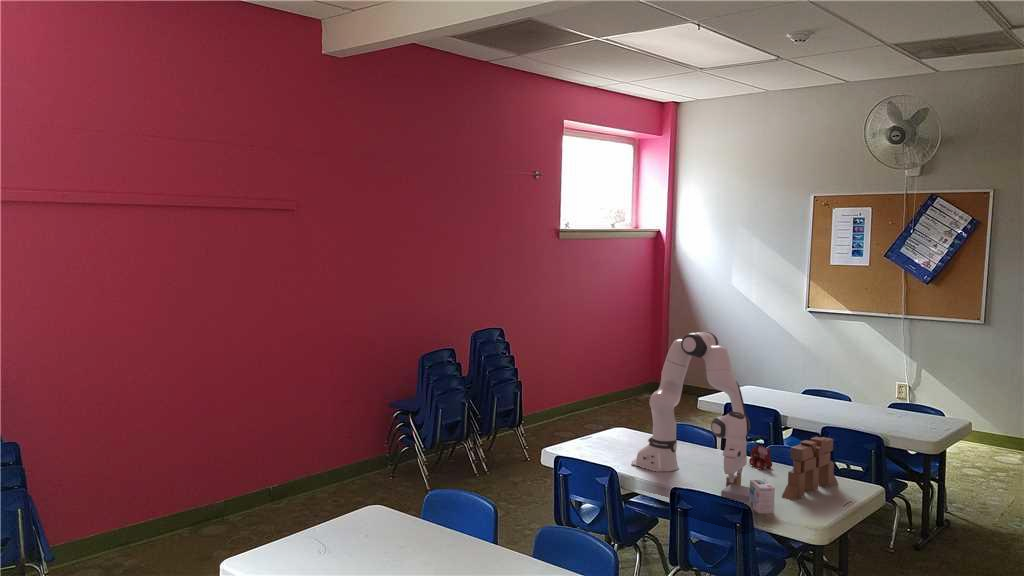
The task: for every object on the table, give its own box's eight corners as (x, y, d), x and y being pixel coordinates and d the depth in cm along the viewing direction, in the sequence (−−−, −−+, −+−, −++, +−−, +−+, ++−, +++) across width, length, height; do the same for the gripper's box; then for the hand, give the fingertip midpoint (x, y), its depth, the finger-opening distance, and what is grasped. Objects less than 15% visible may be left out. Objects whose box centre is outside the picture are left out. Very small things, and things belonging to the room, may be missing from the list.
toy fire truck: (757, 462, 392) (758, 442, 391) (774, 469, 380) (775, 448, 380) (746, 463, 389) (746, 443, 389) (762, 471, 378) (763, 449, 377)
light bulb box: (748, 504, 330) (749, 479, 329) (764, 504, 330) (764, 479, 329) (758, 513, 319) (759, 487, 318) (774, 513, 320) (775, 487, 319)
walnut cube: (726, 488, 351) (726, 477, 351) (729, 485, 355) (730, 474, 355) (737, 490, 348) (737, 479, 348) (740, 487, 352) (741, 476, 352)
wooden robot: (823, 479, 367) (825, 431, 365) (841, 483, 360) (843, 434, 359) (778, 497, 340) (780, 445, 339) (797, 502, 334) (799, 449, 332)
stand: (721, 496, 340) (721, 490, 339) (731, 489, 349) (731, 483, 349) (748, 502, 333) (748, 496, 333) (757, 494, 342) (758, 489, 342)
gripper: (736, 443, 361) (736, 472, 362) (721, 453, 344) (720, 484, 345) (750, 445, 358) (749, 475, 358) (735, 455, 341) (735, 486, 342)
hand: (735, 479), depth 352 cm, fingers open, 8 cm apart
